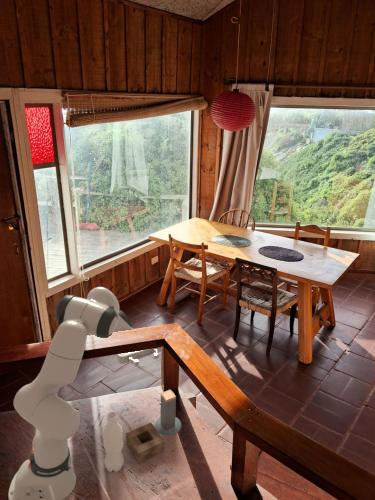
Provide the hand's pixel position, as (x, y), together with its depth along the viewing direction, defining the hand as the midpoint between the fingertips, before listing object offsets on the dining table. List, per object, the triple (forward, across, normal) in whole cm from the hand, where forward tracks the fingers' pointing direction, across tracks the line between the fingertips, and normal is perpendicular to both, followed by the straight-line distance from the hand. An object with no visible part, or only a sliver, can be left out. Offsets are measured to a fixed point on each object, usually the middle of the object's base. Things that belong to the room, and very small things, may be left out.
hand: (147, 360), depth 168 cm
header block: (+17, -9, +28) cm, 34 cm away
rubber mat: (+12, +4, +27) cm, 30 cm away
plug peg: (+12, +4, +26) cm, 29 cm away
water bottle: (+18, -23, +28) cm, 40 cm away
